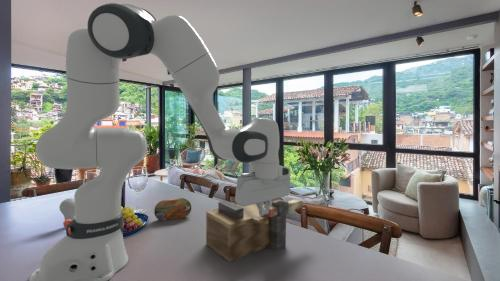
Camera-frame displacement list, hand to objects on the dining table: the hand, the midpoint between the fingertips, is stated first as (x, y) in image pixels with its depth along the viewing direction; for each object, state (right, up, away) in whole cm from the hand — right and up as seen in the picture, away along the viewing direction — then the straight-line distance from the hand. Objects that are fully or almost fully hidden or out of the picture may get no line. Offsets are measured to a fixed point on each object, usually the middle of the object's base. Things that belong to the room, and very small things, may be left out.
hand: (264, 214), depth 79 cm
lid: (-6, -3, +5) cm, 8 cm away
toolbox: (-5, -12, +5) cm, 14 cm away
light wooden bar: (+7, 0, +6) cm, 9 cm away
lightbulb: (-74, -11, +19) cm, 78 cm away
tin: (-37, -10, +29) cm, 48 cm away
